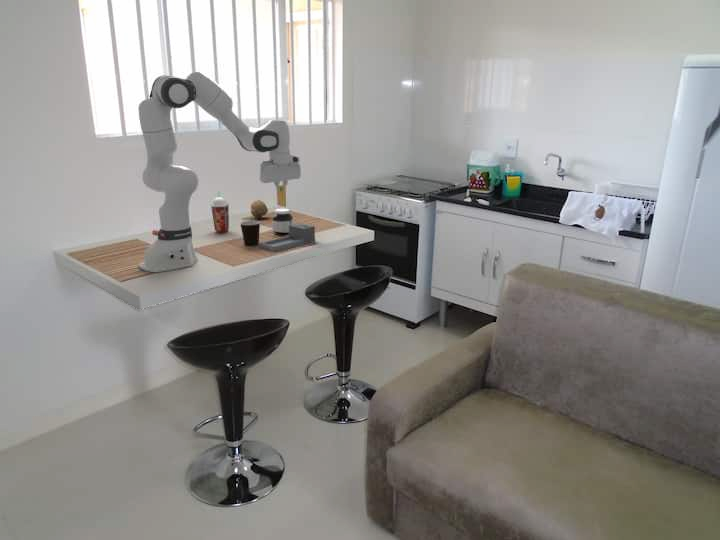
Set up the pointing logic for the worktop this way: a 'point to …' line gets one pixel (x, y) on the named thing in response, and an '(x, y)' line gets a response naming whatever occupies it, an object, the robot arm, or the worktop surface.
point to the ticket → (281, 197)
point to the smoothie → (220, 214)
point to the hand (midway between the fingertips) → (281, 191)
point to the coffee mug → (250, 232)
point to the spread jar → (282, 221)
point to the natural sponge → (258, 209)
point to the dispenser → (291, 238)
